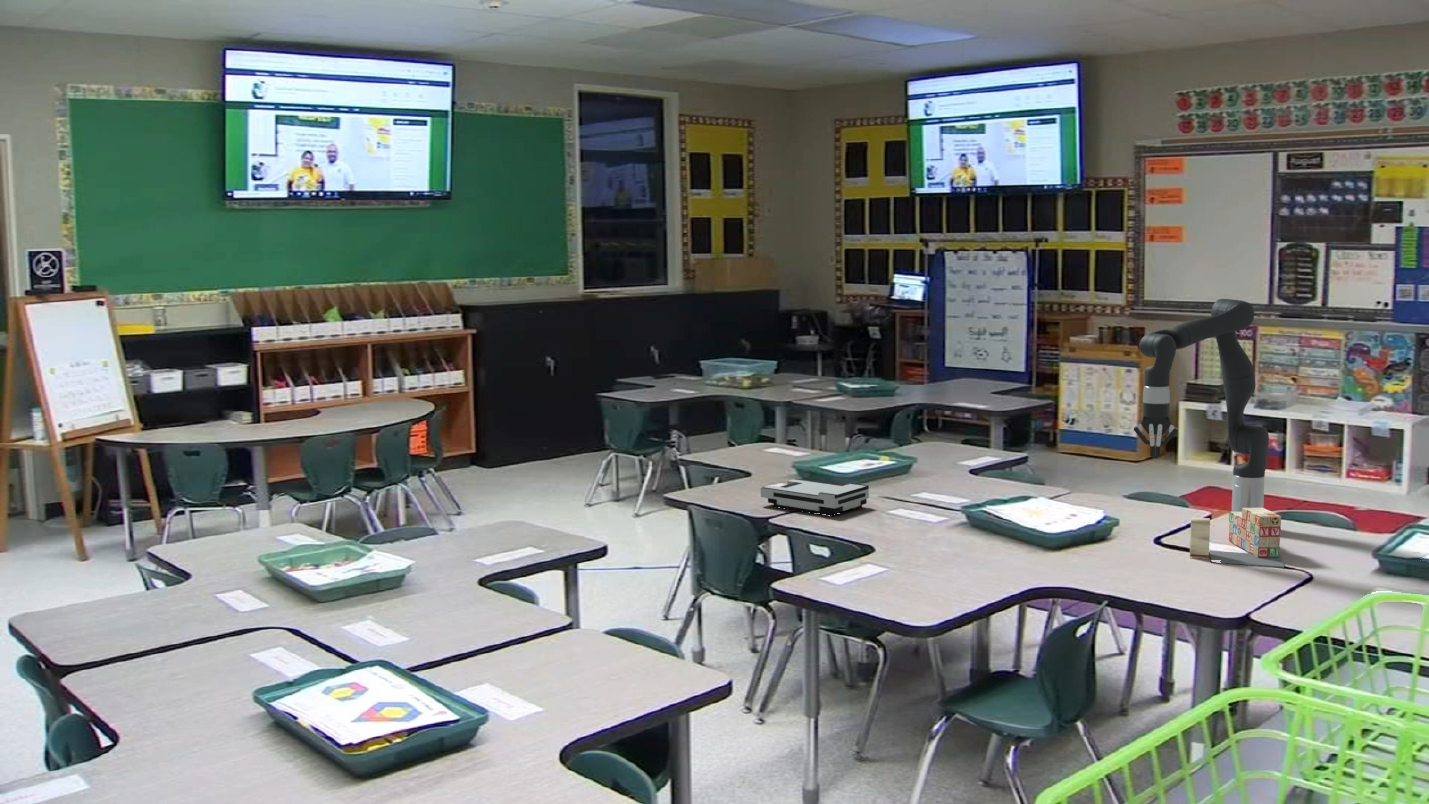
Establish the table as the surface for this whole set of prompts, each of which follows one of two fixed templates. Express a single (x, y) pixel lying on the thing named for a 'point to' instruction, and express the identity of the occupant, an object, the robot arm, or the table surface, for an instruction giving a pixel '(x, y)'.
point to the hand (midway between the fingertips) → (1155, 458)
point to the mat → (1246, 559)
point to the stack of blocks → (1256, 531)
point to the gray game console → (816, 496)
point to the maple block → (1200, 538)
